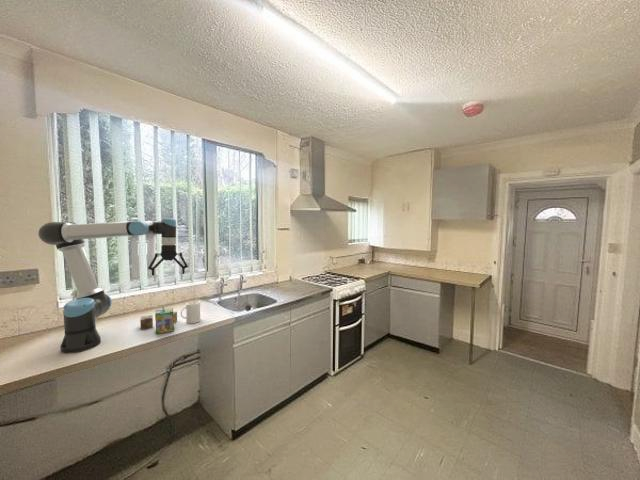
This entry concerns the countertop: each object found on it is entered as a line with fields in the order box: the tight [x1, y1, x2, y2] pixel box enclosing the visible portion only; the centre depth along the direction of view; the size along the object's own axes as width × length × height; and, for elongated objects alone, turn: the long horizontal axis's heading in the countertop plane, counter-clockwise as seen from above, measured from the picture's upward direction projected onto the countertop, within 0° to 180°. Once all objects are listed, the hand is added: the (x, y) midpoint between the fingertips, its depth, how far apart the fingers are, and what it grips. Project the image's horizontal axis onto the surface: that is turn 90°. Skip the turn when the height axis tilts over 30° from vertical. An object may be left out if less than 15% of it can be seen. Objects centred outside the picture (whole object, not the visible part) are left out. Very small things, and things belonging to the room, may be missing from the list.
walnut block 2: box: [173, 311, 178, 324], centre depth 165 cm, size 6×6×6 cm
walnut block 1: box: [139, 314, 154, 330], centre depth 158 cm, size 6×6×6 cm
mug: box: [180, 300, 201, 324], centre depth 167 cm, size 12×8×12 cm
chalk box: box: [154, 304, 175, 335], centre depth 153 cm, size 9×9×15 cm
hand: (168, 280), depth 154 cm, fingers open, 13 cm apart
